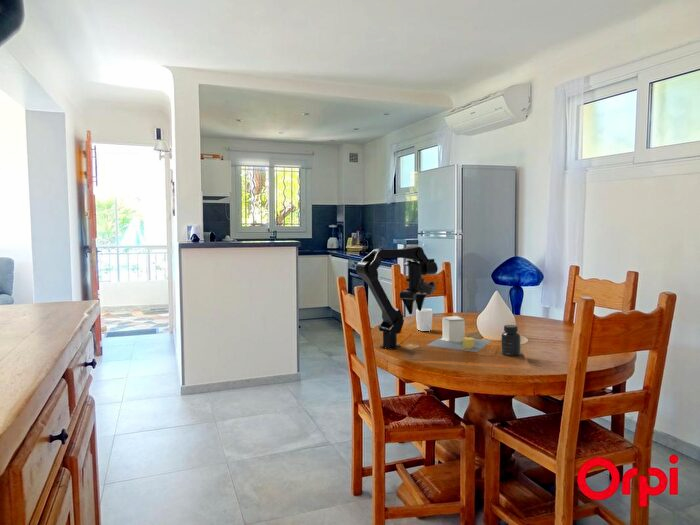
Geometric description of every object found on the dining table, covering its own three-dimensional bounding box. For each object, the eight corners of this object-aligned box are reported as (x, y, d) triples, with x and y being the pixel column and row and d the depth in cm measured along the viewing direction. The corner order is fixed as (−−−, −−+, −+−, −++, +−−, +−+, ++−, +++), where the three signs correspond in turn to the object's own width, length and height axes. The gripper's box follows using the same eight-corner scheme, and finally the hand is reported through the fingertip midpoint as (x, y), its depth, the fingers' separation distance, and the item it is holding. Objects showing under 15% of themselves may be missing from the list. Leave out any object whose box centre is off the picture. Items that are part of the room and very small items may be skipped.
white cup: (413, 331, 228) (413, 310, 227) (419, 328, 235) (419, 307, 234) (429, 332, 224) (429, 311, 224) (434, 329, 231) (434, 308, 231)
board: (476, 354, 186) (476, 342, 185) (426, 348, 197) (426, 336, 197) (491, 343, 203) (491, 332, 202) (444, 338, 214) (444, 327, 213)
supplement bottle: (505, 353, 187) (505, 323, 186) (523, 356, 182) (523, 325, 181) (498, 357, 181) (498, 326, 180) (516, 360, 177) (516, 328, 176)
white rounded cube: (464, 340, 204) (464, 319, 203) (449, 341, 202) (449, 320, 201) (457, 336, 211) (457, 316, 210) (442, 337, 209) (442, 316, 208)
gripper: (423, 279, 193) (423, 317, 194) (441, 274, 208) (441, 310, 210) (398, 278, 199) (399, 315, 200) (417, 273, 214) (417, 308, 216)
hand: (415, 312), depth 206 cm, fingers open, 9 cm apart
